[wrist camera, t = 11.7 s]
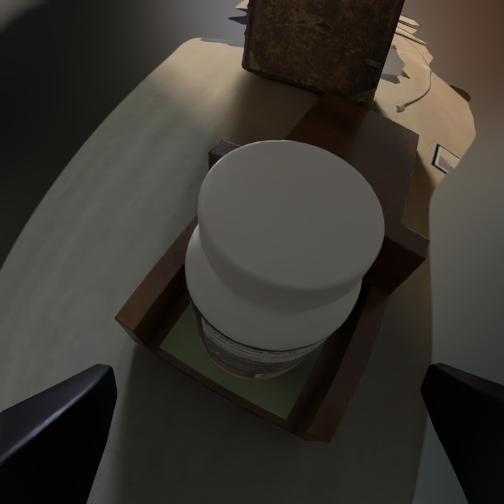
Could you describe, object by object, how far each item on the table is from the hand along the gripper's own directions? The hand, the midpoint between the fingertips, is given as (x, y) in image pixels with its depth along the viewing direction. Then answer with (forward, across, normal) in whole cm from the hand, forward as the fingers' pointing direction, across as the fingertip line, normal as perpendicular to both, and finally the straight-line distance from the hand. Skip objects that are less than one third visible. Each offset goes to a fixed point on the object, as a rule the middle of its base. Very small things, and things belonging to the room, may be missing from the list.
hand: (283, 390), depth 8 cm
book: (+31, -7, -18) cm, 37 cm away
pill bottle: (+8, 0, +2) cm, 8 cm away
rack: (+16, -5, -4) cm, 17 cm away
